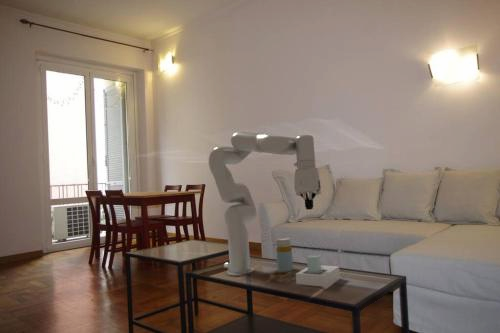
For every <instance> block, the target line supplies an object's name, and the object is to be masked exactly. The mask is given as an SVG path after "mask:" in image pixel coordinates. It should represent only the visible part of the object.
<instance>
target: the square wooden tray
mask: <svg viewBox="0 0 500 333" xmlns="http://www.w3.org/2000/svg"><path fill="white" fill-rule="evenodd" d="M295 280H296V277H293V273H292V271H289V272H283V271H278V270H276V271H274V272H272V273H270V274H268V279H267V280H266V282H268V283H282V284H288V283H291V282H292V281H295Z"/></svg>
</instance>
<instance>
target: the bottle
mask: <svg viewBox="0 0 500 333" xmlns="http://www.w3.org/2000/svg"><path fill="white" fill-rule="evenodd" d="M275 251H276V252H275V253H276V264H277V271H283V272H292V271H294V260H293V250H292V246H291V238H290V237H281V238H276V250H275Z"/></svg>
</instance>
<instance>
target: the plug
mask: <svg viewBox="0 0 500 333" xmlns="http://www.w3.org/2000/svg"><path fill="white" fill-rule="evenodd" d="M321 261H322V260H321V255H314V254H311V255H308V256H307V257H306V262H307V267H308V273H320V272H321V265H322V262H321Z"/></svg>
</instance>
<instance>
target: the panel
mask: <svg viewBox="0 0 500 333" xmlns="http://www.w3.org/2000/svg"><path fill="white" fill-rule="evenodd" d="M295 278H296V279H295V281H296V282H295V285H304V286H313V287H320V288H319V289H320V290H327V289H328V288H330V287H331V286H333V285H334V284H335V283H337V281H339V280H340V279H341V274H340V266H336V265H322V264H321V272H320V273H308V266H307V267H305V268H303V269H302V270H300V271H298V272H296V273H295Z"/></svg>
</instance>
